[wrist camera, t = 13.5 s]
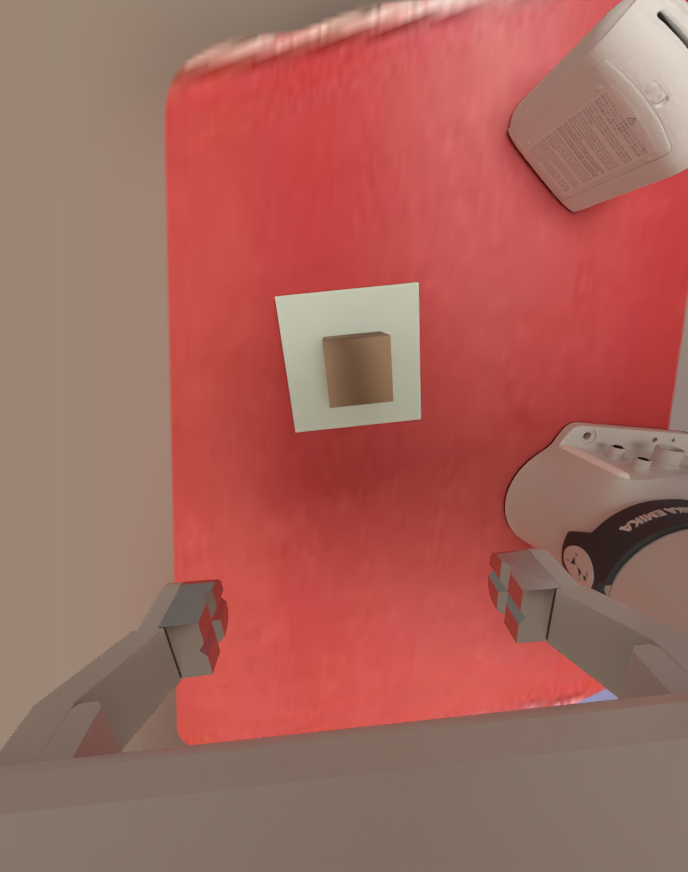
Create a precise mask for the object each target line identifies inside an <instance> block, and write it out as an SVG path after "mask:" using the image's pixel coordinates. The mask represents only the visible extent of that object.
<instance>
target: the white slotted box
mask: <svg viewBox="0 0 688 872" xmlns="http://www.w3.org/2000/svg"><path fill="white" fill-rule="evenodd" d="M508 132H509V135H510V137H511V139H512V141H513V142H514V144H515V146H516V147H517V148H518V150H519V151H520V152H521V154H522V155H523V156H524V158H525V159H526V160H527V161H528V163H529V164H530V165H531V166H532V168H533V169H534V170H535V171H536V173H537V174H538V175H539V176H540V178H541V179H542V180H543V181H544V183H545V184H546V185H547V186H548V188H549V189H550V190H551V191H552V192H553V194H554V195H555V196H556V197H557V198H558V199H559V200H560V201H561V202H562V203H563V204H564V205H565V206H566V207H567V208H568V209H569V210H571V211H573V212H577V211H580V210H583V209H585V208H588V207H591V206H593V205H596V204H598V203H601V202H604V201H606V200H609V199H612V198H614V197H617V196H620V195H622V194H625V193H628V192H630V191H633V190H636V189H639V188H641V187H644V186H646V185H649V184H652V183H654V182H657V181H660V180H662V179H665V178H668V177H671V176H673V175H676V174H678V173H679V172H681V171H683V170H685V169H687V168H688V3H687V2H686V1H685V0H623V1H622V2H620V3H619V4H617V5H616V6H615V7H614V8H613V9H611V10H610V11H609V12H608V13H607V14H606V15H605V16H604V17H603V18H602V19H601V20H600V21H599V22H598V23H597V24H596V25H595V26H594V27H593V29H592V30H591V31H590V32H589V33H588V34H587V35H586V36H585V37H584V38H583V39H582V40H581V41H580V42H579V43H578V44H577V45H576V46H575V47H574V48H573V49H572V50H571V51H570V52H569V53H568V54H567V55H566V56H565V57H564V58H563V59H562V60H561V61H560V62H559V63H558V64H557V65H556V66H555V67H554V68H553V69H552V70H551V71H550V73H549V74H548V75H547V76H546V77H545V78H544V79H543V80H542V81H541V82H540V83H539V84H538V85H537V86H536V87H535V88H534V89H533V90H532V91H531V92H530V93H529V94H528V95H527V96H526V97H525V98H524V99H523V100H522V101H521V102H520V103H519V105H518V106H517V107H516V109H515V111H514V113H513V115H512V118H511V121H510V127H509V128H508Z"/></svg>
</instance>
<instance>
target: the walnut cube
mask: <svg viewBox="0 0 688 872" xmlns="http://www.w3.org/2000/svg"><path fill="white" fill-rule="evenodd" d="M322 343H323V352H324V361H325V370H326V379H327V388H328V397H329V405H330V408H335V407H344V406H354V405H364V404H373V403H383V402H392V401H393V381H392V359H391V337H390V335H389V334H386V333H384V332H381V331H377V332H367V333H358V334H348V335H338V336H328V337H323V341H322Z"/></svg>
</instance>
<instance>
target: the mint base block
mask: <svg viewBox="0 0 688 872" xmlns="http://www.w3.org/2000/svg"><path fill="white" fill-rule="evenodd" d="M275 300H276V307H277V314H278V320H279V327H280V333H281V340H282V346H283V353H284V360H285V366H286V373H287V379H288V386H289V393H290V399H291V406H292V412H293V419H294V425H295V432H305V431H314V430H324V429H333V428H342V427H352V426H361V425H371V424H380V423H390V422H399V421H408V420H418V419H421V389H420V331H419V282H416V283H406V284H396V285H386V286H376V287H366V288H356V289H346V290H336V291H325V292H315V293H305V294H295V295H285V296H275ZM377 331H381V332H384V333H386V334H389V335H390V337H391V359H392V381H393V401H392V402H383V403H373V404H364V405H354V406H344V407H335V408H330V405H329V397H328V388H327V379H326V370H325V361H324V352H323V343H322V341H323V337H328V336H338V335H348V334H358V333H367V332H377Z"/></svg>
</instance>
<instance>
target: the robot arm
mask: <svg viewBox="0 0 688 872" xmlns="http://www.w3.org/2000/svg"><path fill="white" fill-rule="evenodd" d="M585 433H586V435H585V436H584V434H585ZM583 436H584V437H583ZM505 514H506V519H507V522H508V524H509V526H510V528H511V530H512V531H513V532H514V534H515V535H516V536H517V537H519V538H520V539H521V540H523V541H524V542H526V543H528V544H529V545H531V546H532V547H534V548H531V549H525V550H516V551H506V552H496V553H492V554H491V557H490V565H491V567H492V568H493V571H492V572H491V573H490V575H489V576H488V587H489V593H490V596H491V599H492V601H493V603H494V605H495V607H496V609H497V610H499V611H500V612H502V613H503V614H505V620H504V623H505V624H506V626H507V628H508V630H509V631H510V633H511V635H512V636H513V638H514V640H515V641H516V643H523V642H536V641H547V643H549V644H550V645H551V646H552V647H554V648H555V649H556V650H558V651H559V652H560V653H561V654H563V655H564V656H565V657H567V658H568V659H569V660H570V661H572V662H573V663H574V664H576V665H577V666H578V667H579V668H581V669H582V670H583V671H585V672H586V673H587V674H588V675H590V676H591V677H592V678H594V679H595V680H596V681H597V682H599V683H600V684H601V685H603V686H604V687H605V688H606V689H608V690H609V691H610V692H612V693H613V694H614V695H616V696H617V697H618V699H616V700H607V701H597V702H588V703H579V704H569V705H560V706H550V707H541V708H532V709H523V710H513V711H504V712H495V713H486V714H477V715H468V716H458V717H449V718H440V719H431V720H421V721H412V722H403V723H393V724H384V725H375V726H365V727H356V728H347V729H337V730H328V731H319V732H309V733H300V734H291V735H281V736H272V737H263V738H253V739H244V740H235V741H226V742H216V743H207V744H198V745H188V746H180V747H170V748H161V749H151V750H142V751H133V752H123V751H122V749H123V748H124V747H125V746H126V744H127V743H128V742H129V741H130V740H131V738H132V737H133V736H134V735H135V734H136V733H137V732H138V730H139V729H140V728H141V727H142V725H143V724H144V723H145V722H146V721H147V720H148V719H149V717H150V716H151V715H152V714H153V713H154V712H155V710H156V709H157V708H158V707H159V706H160V704H161V703H162V702H163V701H164V700H165V699H166V697H167V696H168V695H169V694H170V693H171V692H172V690H173V689H174V688H175V687H176V686H177V685H178V683H179V682H180V681H181V678H188V677H195V676H203V675H210V674H213V672H214V669H215V666H216V662H217V659H218V656H219V653H220V649H219V645H218V643H219V642H220V641H221V640H222V639H223V638H224V637H225V633H226V630H227V625H228V607H227V602H226V601H225V600H224V599H223V598H221V595H222V592H223V587H222V583H221V581H220V580H218V579H216V580H202V581H188V582H179V583H168V584H166V585H165V586H164V587H163V588H162V590H161V591H160V593H159V595H158V596H157V598H156V600H155V602H154V603H153V605H152V607H151V608H150V610H149V612H148V613H147V615H146V617H145V619H144V620H143V622H142V624H141V625H140V627H139V629H138V630H137V631H131V632H130V633H129V634H128V635H126V636H125V637H124V638H122V639H121V640H120V641H118V642H117V643H116V644H114V645H113V646H112V647H111V648H109V649H108V650H106V651H105V652H104V653H103V654H101V655H100V656H99V657H97V658H96V659H95V660H93V661H92V662H91V663H90V664H88V665H87V666H86V667H84V668H83V669H81V670H80V671H79V672H78V673H76V674H75V675H74V676H72V677H71V678H70V679H68V680H67V681H66V682H64V683H63V684H62V685H60V686H59V687H58V688H57V689H55V690H54V691H53V692H51V693H50V694H49V695H47V696H46V697H45V698H44V699H42V700H41V701H39V702H38V703H37V704H36V705H34V706H33V707H32V709H31V710H30V711H29V713H28V714H27V716H26V717H25V718H24V720H23V721H22V722H21V724H20V725H19V726H18V728H17V729H16V730H15V732H14V733H13V735H12V736H11V737H10V739H9V740H8V741H7V743H6V744H5V745H4V747H3V748H2V749H1V751H0V872H688V432H684V431H675V430H664V429H652V428H640V427H628V426H616V425H604V424H593V423H581V422H574V423H570V424H568V425H567V426H566V427H565V428H564V429H563V430H562V431H561V432H560V433H559V435H558V436H557V437H556V439H555V440H554V441H553V443H552V444H551V445H550V446H549V447H547V448H546V449H545V450H543V451H542V452H540V453H539V454H537V455H536V456H535V457H533V458H532V459H531V460H530V461H528V462H527V463H526V464H525V465H524V466H523V467H522V469H521V470H520V471H519V472H518V473H517V475H516V476H515V478H514V479H513V481H512V483H511V485H510V487H509V490H508V493H507V496H506V501H505Z"/></svg>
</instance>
